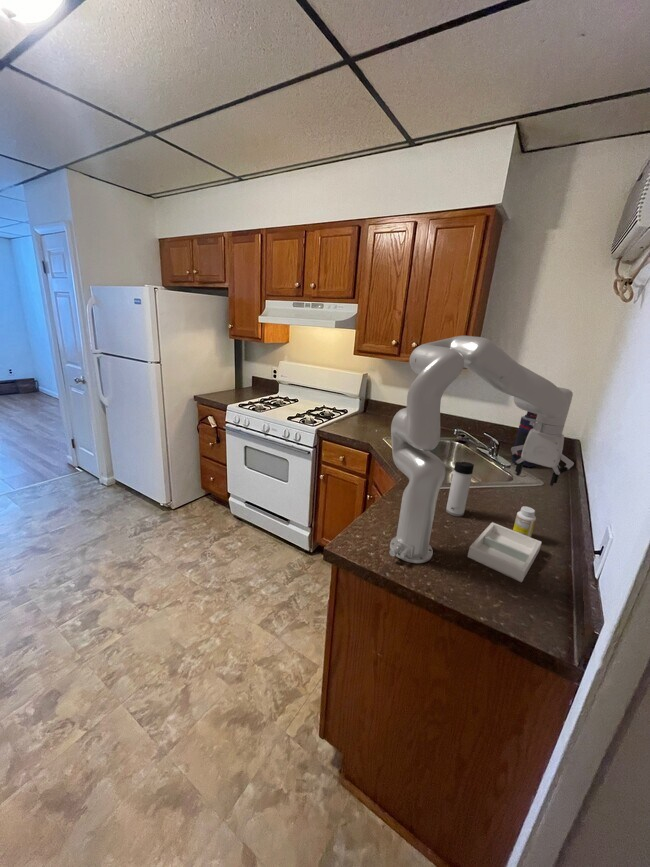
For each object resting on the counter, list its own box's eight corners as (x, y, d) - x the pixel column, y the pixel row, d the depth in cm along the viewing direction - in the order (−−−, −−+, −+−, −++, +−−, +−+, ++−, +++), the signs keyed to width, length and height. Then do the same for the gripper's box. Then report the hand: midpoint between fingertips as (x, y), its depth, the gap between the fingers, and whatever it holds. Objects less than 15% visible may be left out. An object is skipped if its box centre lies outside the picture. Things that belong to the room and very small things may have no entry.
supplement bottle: (523, 531, 123) (530, 505, 120) (534, 541, 118) (541, 513, 114) (508, 531, 122) (515, 504, 119) (518, 541, 117) (525, 513, 114)
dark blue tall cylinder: (534, 470, 177) (550, 412, 168) (508, 463, 184) (522, 407, 175) (538, 463, 188) (553, 407, 179) (513, 456, 194) (526, 402, 185)
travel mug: (453, 518, 128) (463, 466, 122) (442, 508, 134) (452, 459, 128) (467, 516, 130) (478, 465, 124) (456, 507, 136) (466, 458, 130)
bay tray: (521, 582, 98) (524, 571, 97) (467, 556, 107) (469, 546, 106) (539, 551, 112) (541, 541, 111) (489, 531, 122) (492, 522, 120)
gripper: (514, 423, 111) (502, 474, 117) (580, 438, 101) (564, 492, 106) (520, 419, 117) (509, 467, 122) (584, 432, 106) (568, 484, 112)
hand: (534, 479), depth 114 cm, fingers open, 9 cm apart
